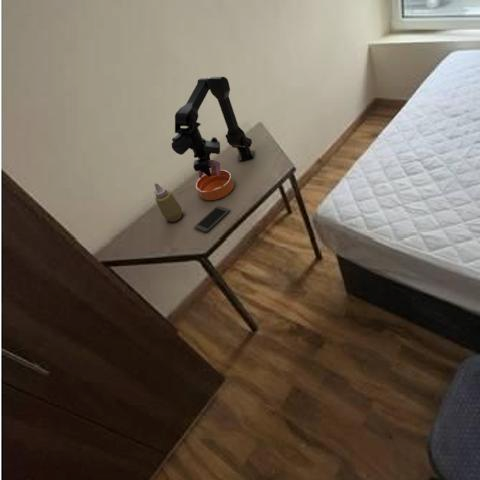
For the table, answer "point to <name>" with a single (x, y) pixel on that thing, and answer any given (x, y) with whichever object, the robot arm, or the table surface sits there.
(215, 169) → the video game controller
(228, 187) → the orange mixing bowl
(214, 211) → the cell phone
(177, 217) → the squeeze bottle
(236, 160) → the table surface
